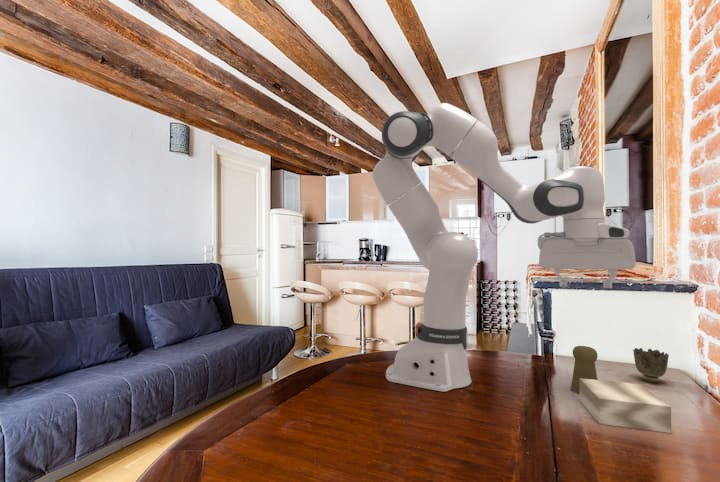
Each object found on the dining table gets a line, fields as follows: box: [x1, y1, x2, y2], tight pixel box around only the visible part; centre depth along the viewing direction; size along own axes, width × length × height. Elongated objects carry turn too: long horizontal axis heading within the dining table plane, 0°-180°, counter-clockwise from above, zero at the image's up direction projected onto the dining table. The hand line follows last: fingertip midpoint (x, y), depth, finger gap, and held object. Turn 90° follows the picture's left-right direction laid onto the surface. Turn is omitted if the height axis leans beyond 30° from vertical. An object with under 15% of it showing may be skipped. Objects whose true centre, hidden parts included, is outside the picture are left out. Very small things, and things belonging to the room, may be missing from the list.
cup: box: [632, 347, 670, 384], centre depth 95 cm, size 8×7×8 cm
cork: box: [570, 345, 598, 395], centre depth 87 cm, size 6×6×11 cm
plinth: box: [578, 378, 672, 434], centre depth 75 cm, size 12×12×5 cm
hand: (585, 287), depth 87 cm, fingers open, 8 cm apart
